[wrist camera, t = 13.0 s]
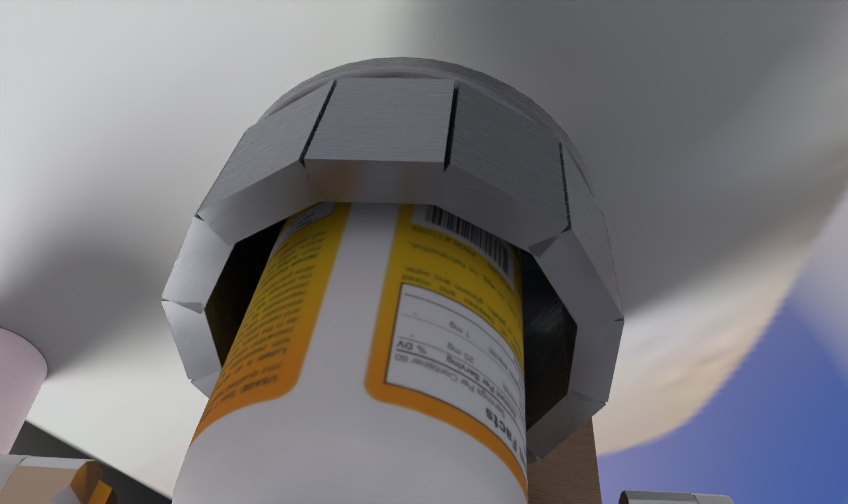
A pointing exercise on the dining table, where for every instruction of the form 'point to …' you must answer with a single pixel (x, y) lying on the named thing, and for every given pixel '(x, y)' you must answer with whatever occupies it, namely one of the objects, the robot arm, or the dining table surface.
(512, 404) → the supplement bottle
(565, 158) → the cup bracket
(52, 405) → the dining table surface
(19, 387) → the smoothie
